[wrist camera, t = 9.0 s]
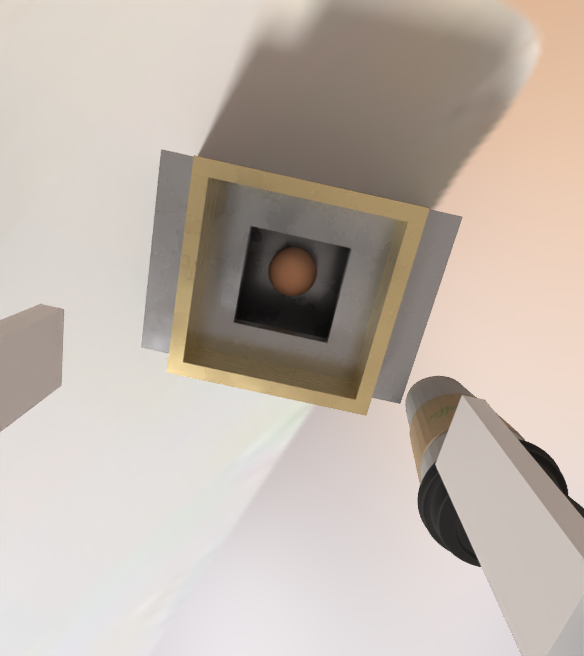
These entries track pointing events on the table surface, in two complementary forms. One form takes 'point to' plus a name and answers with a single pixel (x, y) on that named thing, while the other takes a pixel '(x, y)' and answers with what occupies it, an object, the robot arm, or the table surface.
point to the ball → (292, 271)
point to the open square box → (281, 310)
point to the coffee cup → (427, 440)
